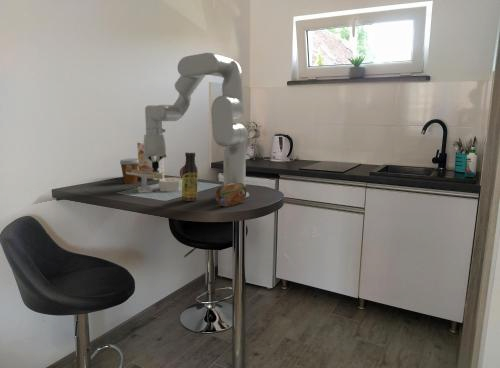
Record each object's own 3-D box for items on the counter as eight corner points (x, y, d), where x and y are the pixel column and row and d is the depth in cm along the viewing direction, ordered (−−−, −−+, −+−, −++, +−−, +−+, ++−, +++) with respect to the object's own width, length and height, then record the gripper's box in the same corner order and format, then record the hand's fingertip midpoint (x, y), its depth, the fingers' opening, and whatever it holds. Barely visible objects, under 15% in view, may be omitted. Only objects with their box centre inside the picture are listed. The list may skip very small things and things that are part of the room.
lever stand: (152, 192, 168) (151, 173, 166) (138, 192, 166) (137, 174, 164) (150, 188, 176) (149, 171, 175) (137, 189, 174) (136, 171, 173)
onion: (195, 180, 200) (195, 161, 198) (200, 183, 192) (199, 164, 190) (178, 181, 197) (177, 162, 195) (181, 184, 188) (181, 164, 186)
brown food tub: (117, 182, 190) (115, 159, 188) (132, 180, 198) (131, 157, 196) (128, 184, 185) (127, 161, 183) (144, 182, 193) (143, 159, 190)
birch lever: (162, 178, 170) (163, 171, 170) (126, 174, 164) (127, 166, 164) (158, 174, 182) (159, 167, 182) (125, 170, 176) (126, 163, 176)
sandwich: (219, 208, 140) (219, 186, 139) (214, 207, 142) (214, 185, 141) (246, 202, 151) (247, 181, 149) (241, 200, 153) (241, 180, 152)
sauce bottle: (184, 202, 149) (183, 153, 145) (180, 199, 154) (179, 151, 151) (199, 201, 151) (199, 152, 148) (195, 198, 157) (195, 151, 153)
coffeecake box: (138, 176, 209) (136, 142, 205) (149, 175, 214) (147, 141, 211) (154, 180, 199) (152, 143, 196) (164, 178, 205) (163, 143, 201)
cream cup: (185, 190, 172) (185, 181, 171) (161, 192, 168) (160, 182, 167) (181, 186, 183) (181, 177, 182) (158, 187, 179) (157, 178, 178)
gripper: (168, 131, 182) (170, 168, 185) (137, 131, 177) (139, 169, 180) (171, 132, 175) (172, 170, 178) (138, 132, 170) (140, 171, 173)
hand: (155, 169), depth 179 cm, fingers closed
